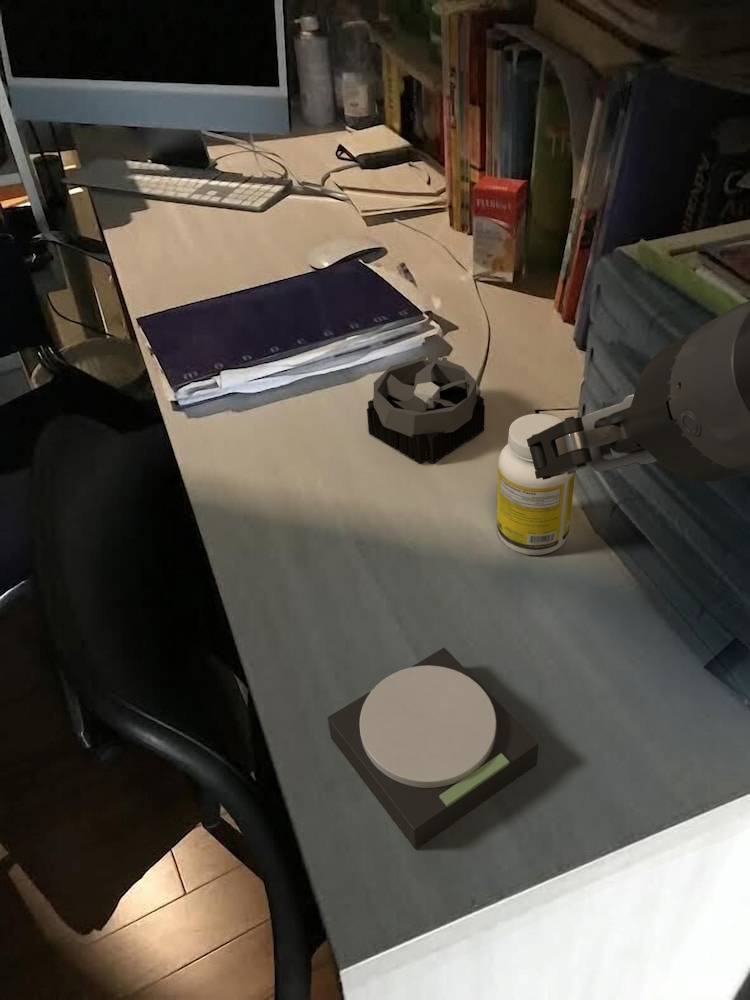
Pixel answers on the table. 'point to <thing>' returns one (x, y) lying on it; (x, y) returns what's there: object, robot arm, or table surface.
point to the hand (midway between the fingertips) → (609, 447)
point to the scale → (432, 745)
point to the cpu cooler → (425, 408)
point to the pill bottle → (531, 494)
